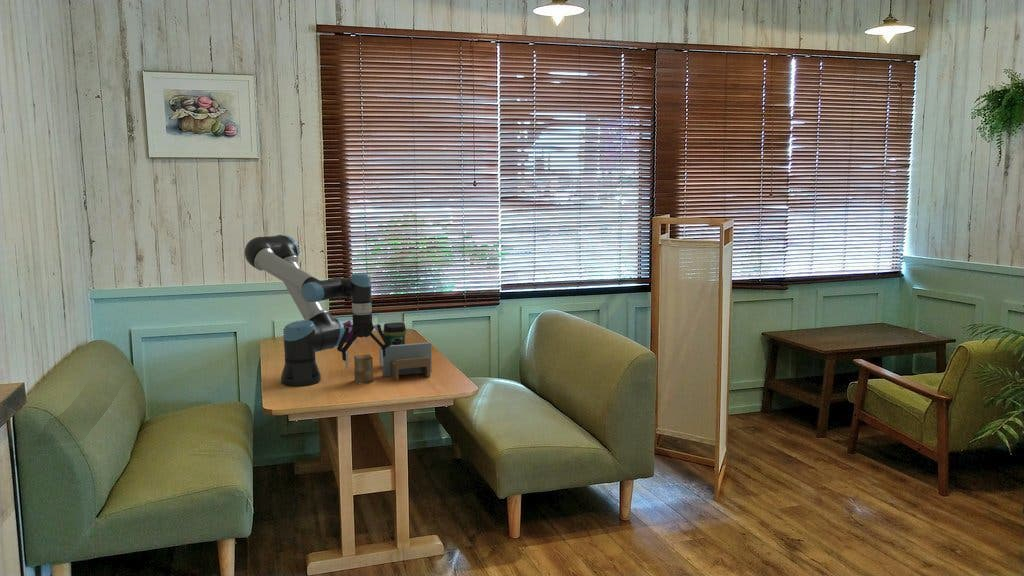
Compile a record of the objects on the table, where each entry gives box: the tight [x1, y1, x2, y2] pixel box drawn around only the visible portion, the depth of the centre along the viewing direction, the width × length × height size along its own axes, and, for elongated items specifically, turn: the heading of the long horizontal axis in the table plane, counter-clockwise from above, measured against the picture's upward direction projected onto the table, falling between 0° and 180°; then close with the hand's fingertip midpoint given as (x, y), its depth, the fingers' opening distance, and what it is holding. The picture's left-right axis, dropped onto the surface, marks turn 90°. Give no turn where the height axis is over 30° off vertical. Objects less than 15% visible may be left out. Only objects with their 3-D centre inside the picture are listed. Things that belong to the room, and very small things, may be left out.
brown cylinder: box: [353, 354, 374, 385], centre depth 307 cm, size 6×6×10 cm
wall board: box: [381, 341, 433, 381], centre depth 315 cm, size 20×10×12 cm, turn 112°
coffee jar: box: [382, 321, 407, 345], centre depth 333 cm, size 10×8×19 cm
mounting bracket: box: [342, 320, 354, 342], centre depth 385 cm, size 9×8×18 cm
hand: (364, 366), depth 307 cm, fingers open, 13 cm apart
